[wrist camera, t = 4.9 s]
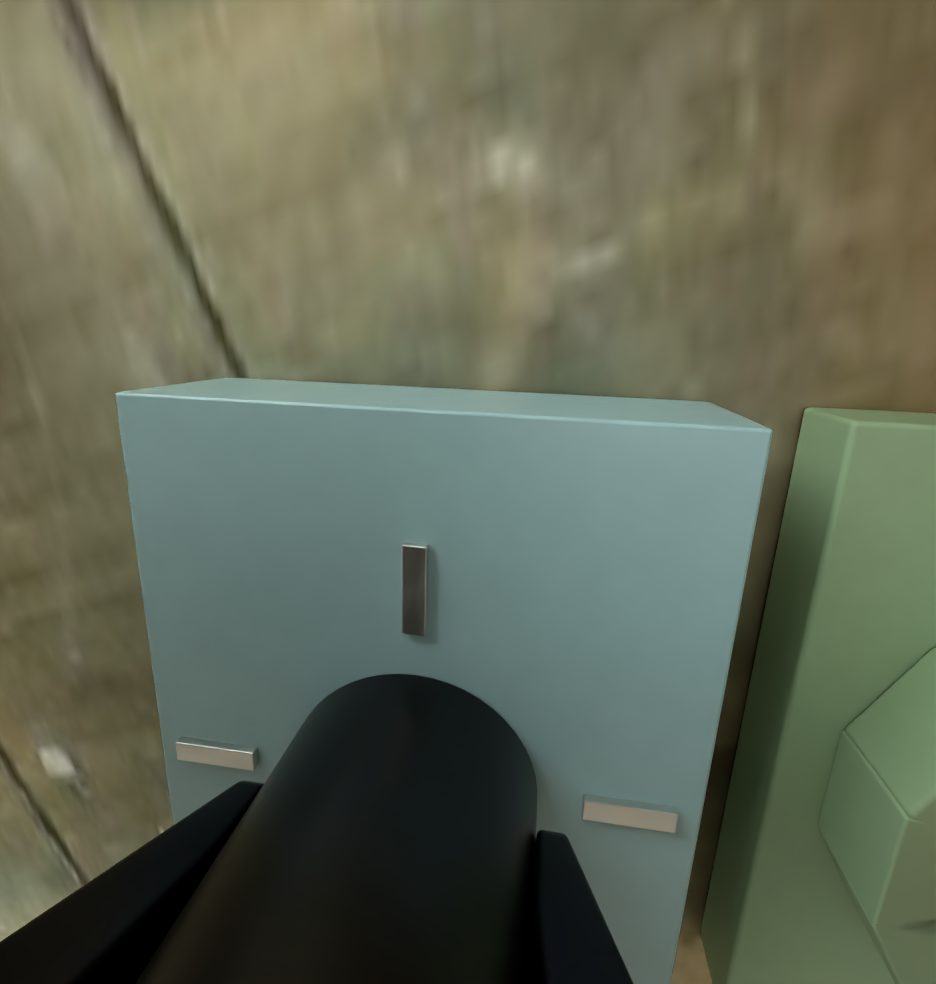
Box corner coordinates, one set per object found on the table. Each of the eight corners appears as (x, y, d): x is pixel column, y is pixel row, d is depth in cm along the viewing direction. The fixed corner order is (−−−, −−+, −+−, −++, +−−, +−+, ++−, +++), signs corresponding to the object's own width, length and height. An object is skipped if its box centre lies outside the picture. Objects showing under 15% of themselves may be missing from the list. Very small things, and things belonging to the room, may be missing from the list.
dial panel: (266, 858, 14) (189, 999, 11) (227, 377, 11) (105, 392, 8) (631, 920, 13) (654, 1095, 10) (710, 401, 10) (780, 431, 7)
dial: (527, 896, 9) (501, 1428, 5) (300, 856, 10) (82, 1302, 5) (547, 689, 8) (541, 1125, 4) (291, 656, 9) (9, 1003, 4)
